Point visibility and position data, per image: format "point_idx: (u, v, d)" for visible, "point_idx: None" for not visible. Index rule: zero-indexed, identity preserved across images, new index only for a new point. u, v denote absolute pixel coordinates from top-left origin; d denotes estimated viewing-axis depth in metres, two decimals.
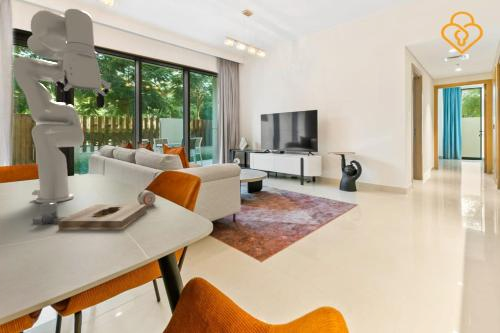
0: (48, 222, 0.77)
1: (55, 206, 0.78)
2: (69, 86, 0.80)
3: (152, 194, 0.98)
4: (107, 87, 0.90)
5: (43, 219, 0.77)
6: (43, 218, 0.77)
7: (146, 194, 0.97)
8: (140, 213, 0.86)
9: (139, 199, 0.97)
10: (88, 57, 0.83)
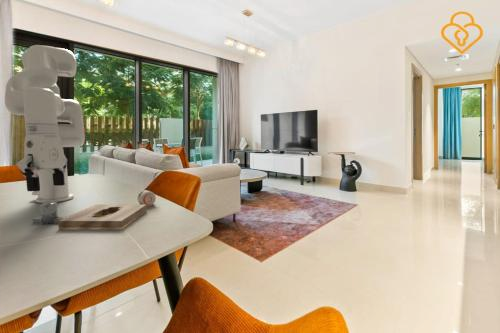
0: (48, 222, 0.77)
1: (55, 206, 0.78)
2: None
3: (152, 194, 0.98)
4: None
5: (43, 219, 0.77)
6: (43, 218, 0.77)
7: (146, 194, 0.97)
8: (140, 213, 0.86)
9: (139, 199, 0.97)
10: None
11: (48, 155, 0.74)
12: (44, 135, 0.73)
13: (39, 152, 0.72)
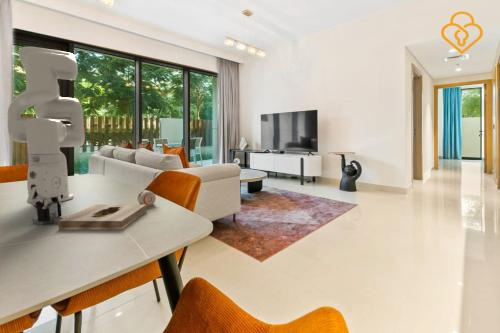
0: (48, 222, 0.77)
1: (55, 206, 0.78)
2: None
3: (152, 194, 0.98)
4: None
5: None
6: None
7: (146, 194, 0.97)
8: (140, 213, 0.86)
9: (139, 199, 0.97)
10: None
11: (51, 184, 0.76)
12: (47, 165, 0.74)
13: (42, 182, 0.73)
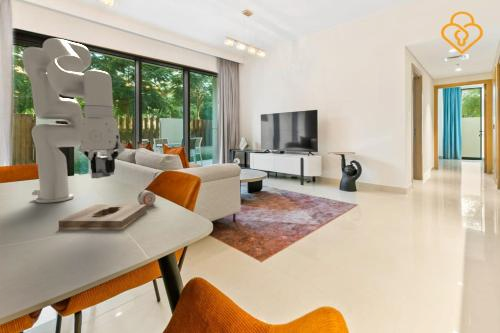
0: None
1: (98, 160, 0.78)
2: None
3: (152, 194, 0.98)
4: None
5: None
6: None
7: (146, 194, 0.97)
8: (140, 213, 0.86)
9: (139, 199, 0.97)
10: None
11: (88, 136, 0.76)
12: (86, 117, 0.76)
13: (81, 133, 0.77)
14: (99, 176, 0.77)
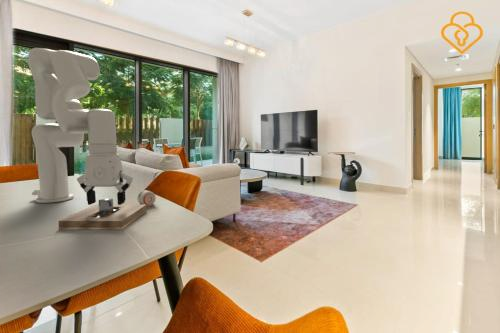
0: None
1: (102, 203, 0.80)
2: None
3: (152, 194, 0.98)
4: None
5: None
6: None
7: (146, 194, 0.97)
8: (140, 213, 0.86)
9: (139, 199, 0.97)
10: None
11: (92, 173, 0.78)
12: (90, 154, 0.77)
13: (85, 170, 0.78)
14: None
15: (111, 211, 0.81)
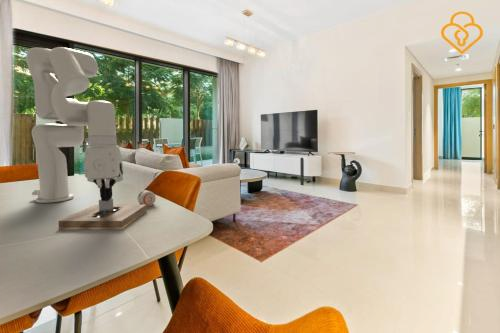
0: None
1: (102, 203, 0.80)
2: None
3: (152, 194, 0.98)
4: None
5: None
6: None
7: (146, 194, 0.97)
8: (140, 213, 0.86)
9: (139, 199, 0.97)
10: None
11: (92, 165, 0.77)
12: (89, 146, 0.77)
13: None
14: None
15: (111, 211, 0.81)
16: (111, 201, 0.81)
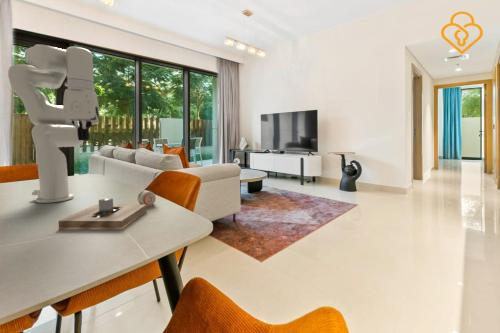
0: None
1: (102, 203, 0.80)
2: None
3: (152, 194, 0.98)
4: None
5: None
6: None
7: (146, 194, 0.97)
8: (140, 213, 0.86)
9: (139, 199, 0.97)
10: None
11: (70, 106, 0.86)
12: (68, 89, 0.85)
13: (63, 103, 0.86)
14: None
15: (111, 211, 0.81)
16: (111, 201, 0.81)
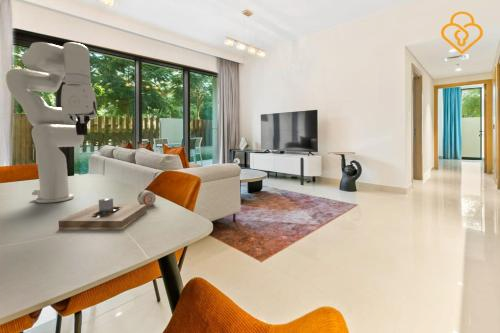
0: None
1: (102, 203, 0.80)
2: None
3: (152, 194, 0.98)
4: None
5: None
6: None
7: (146, 194, 0.97)
8: (140, 213, 0.86)
9: (139, 199, 0.97)
10: None
11: (68, 101, 0.87)
12: (65, 84, 0.86)
13: None
14: None
15: (111, 211, 0.81)
16: (111, 201, 0.81)
